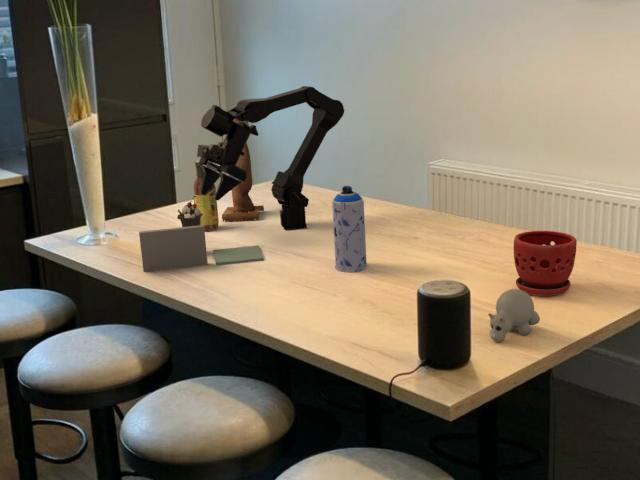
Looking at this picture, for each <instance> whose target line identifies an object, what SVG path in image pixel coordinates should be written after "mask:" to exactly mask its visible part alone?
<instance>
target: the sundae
mask: <svg viewBox="0 0 640 480" xmlns="http://www.w3.org/2000/svg"><path fill="white" fill-rule="evenodd" d="M194 197H196V196H194V195H193V197H192V199H191V200H190V201H188V202H187V204H186V205H184V206H183V207H182V209H181V210H180V209H177V212H178V213H179V214H177V217H176V218H177V220H179V221H180V223H181V227H189V226H199V225H200V219H201V216H202V215H203V214H202V213H201V212H200V210H199V209H198V208H196V207H197V204H195V198H194ZM192 201H193V204H192Z"/></svg>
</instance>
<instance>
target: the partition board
mask: <svg viewBox="0 0 640 480" xmlns="http://www.w3.org/2000/svg"><path fill="white" fill-rule="evenodd" d="M205 232H206V231H205V230H204V225H199V226H189V227H182V226H181V227H180V226H179V227H171V228H159V229H150V230H141V231H138V235H139V243H140V244H139V245H140V253H141V262H142V269H143V272H151V271H152V272H155V271H161V270H172V269H183V268H191V267H201V266H208V265H209V262H208V261H209V260H208V254H207V253H208V251H207V244H206V241H207V240H206V233H205Z"/></svg>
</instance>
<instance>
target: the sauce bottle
mask: <svg viewBox="0 0 640 480" xmlns="http://www.w3.org/2000/svg"><path fill="white" fill-rule="evenodd" d="M199 161H200V159H199V160H198V159H197V160H196V161H195V162H194V166H195V170H196V179H195V181H194V183H193V192H194V194H193V197H194V196H196V197H194V198H195V200H194V201H195V204H197V207H196V208H198V209H199V210H200V212H201V213H202V214H203V215H202V216H201V219H200V225H204V230H205V232H211V231H214V230H217V229H219V223H220V222H219V221H220V220H219V213H218V200H216V199H215V196H216V192H217V189H216V185H215V183H214V184H213V186H212V187H211V188H210V189H209V190H208V191H207V193H206V194H202V193H201V189H202V183H203V174H204V173H203V170H202V168H201V167H200V165H203V164H201V163H199ZM194 198H193V199H194Z"/></svg>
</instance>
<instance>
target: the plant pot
mask: <svg viewBox="0 0 640 480" xmlns="http://www.w3.org/2000/svg"><path fill="white" fill-rule="evenodd" d="M551 242H553V243H554V244H551ZM577 244H578V243H577V238H575V236H574V235H572V234H569V233H568V234H567V233H564V232H561V231H560V232H559V231H554V230H553V231H552V230H529V231H524V232H521V233H518V234H516V235H515V236H514V239H513V260H514V265H515V270H516V272H517V275H518V278H517V279H516V280H515V284H516V287H517V289H519V290H522V291H525V292H527V294H528V295H529V296H540V297H550V296H551V297H552V296H557V295H560V294H561V295H562V294H563V293H565V292H566V291H568V290H569V288H570V287H571V281H570V276H571V274H572V271H573V270H574V266H575V260H576V255H577Z"/></svg>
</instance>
